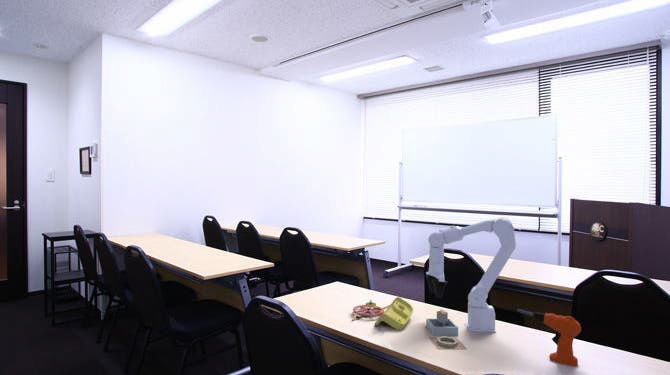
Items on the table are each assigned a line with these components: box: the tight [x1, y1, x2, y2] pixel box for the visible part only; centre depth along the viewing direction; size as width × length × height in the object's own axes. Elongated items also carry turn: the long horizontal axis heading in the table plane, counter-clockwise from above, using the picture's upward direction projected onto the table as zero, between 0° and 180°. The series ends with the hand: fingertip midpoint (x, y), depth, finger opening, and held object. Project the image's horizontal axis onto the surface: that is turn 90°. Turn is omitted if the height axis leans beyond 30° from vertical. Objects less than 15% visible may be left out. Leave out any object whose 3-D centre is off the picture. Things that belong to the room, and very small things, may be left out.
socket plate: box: [428, 335, 468, 351], centre depth 129 cm, size 10×10×1 cm
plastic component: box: [374, 296, 414, 330], centre depth 151 cm, size 20×7×10 cm
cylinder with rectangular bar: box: [436, 308, 449, 327], centre depth 141 cm, size 4×4×7 cm
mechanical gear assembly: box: [351, 299, 391, 322], centre depth 161 cm, size 30×4×15 cm
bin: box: [425, 318, 459, 336], centre depth 141 cm, size 9×9×3 cm
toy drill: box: [516, 308, 582, 367], centre depth 121 cm, size 5×19×15 cm, turn 54°
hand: (435, 295), depth 152 cm, fingers open, 7 cm apart
